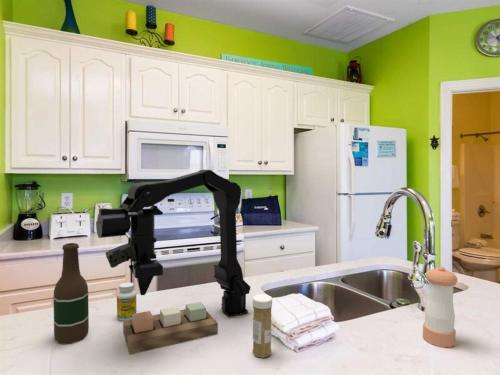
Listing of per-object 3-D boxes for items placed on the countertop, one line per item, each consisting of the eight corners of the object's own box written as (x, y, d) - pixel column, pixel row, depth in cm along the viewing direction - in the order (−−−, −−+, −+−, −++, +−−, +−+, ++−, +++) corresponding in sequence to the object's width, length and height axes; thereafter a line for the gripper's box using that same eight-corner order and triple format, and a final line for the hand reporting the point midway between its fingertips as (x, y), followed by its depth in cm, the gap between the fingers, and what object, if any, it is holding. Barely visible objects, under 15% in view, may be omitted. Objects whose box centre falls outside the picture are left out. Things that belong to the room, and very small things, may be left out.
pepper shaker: (443, 350, 80) (447, 273, 79) (416, 337, 86) (419, 265, 85) (461, 343, 83) (464, 269, 82) (433, 331, 89) (436, 261, 88)
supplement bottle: (133, 311, 99) (133, 280, 99) (138, 318, 95) (138, 285, 94) (115, 315, 96) (114, 283, 96) (119, 322, 92) (118, 289, 91)
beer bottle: (95, 332, 86) (94, 242, 85) (70, 347, 79) (69, 248, 78) (72, 327, 89) (71, 239, 88) (46, 341, 81) (45, 245, 80)
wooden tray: (202, 316, 97) (202, 306, 97) (217, 334, 86) (217, 322, 86) (123, 331, 87) (123, 320, 86) (129, 354, 76) (129, 342, 76)
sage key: (200, 312, 92) (200, 301, 92) (206, 318, 89) (206, 307, 88) (185, 315, 90) (185, 304, 90) (190, 321, 86) (190, 310, 86)
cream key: (176, 316, 89) (176, 306, 89) (180, 323, 85) (180, 312, 85) (159, 320, 87) (159, 309, 87) (163, 327, 83) (163, 315, 83)
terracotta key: (149, 322, 86) (149, 310, 86) (153, 329, 82) (153, 317, 82) (132, 325, 84) (132, 314, 84) (134, 333, 80) (134, 321, 80)
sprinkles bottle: (273, 357, 76) (274, 300, 75) (254, 359, 75) (255, 301, 74) (268, 347, 80) (269, 293, 80) (250, 349, 79) (250, 294, 78)
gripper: (104, 229, 86) (105, 287, 87) (111, 243, 70) (111, 315, 71) (148, 226, 92) (148, 281, 92) (163, 239, 75) (163, 306, 76)
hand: (142, 294), depth 83 cm, fingers closed
